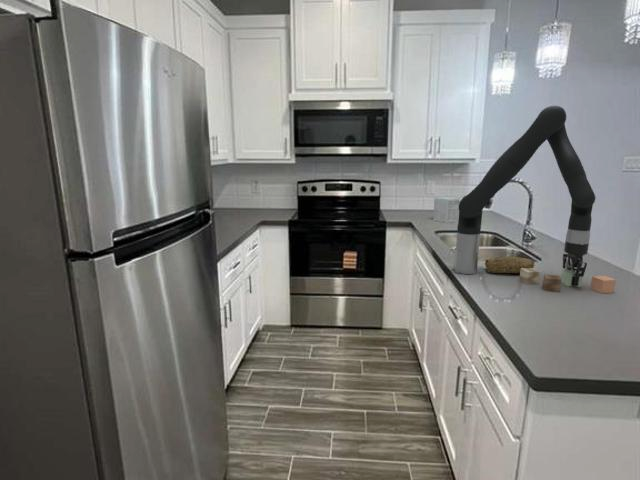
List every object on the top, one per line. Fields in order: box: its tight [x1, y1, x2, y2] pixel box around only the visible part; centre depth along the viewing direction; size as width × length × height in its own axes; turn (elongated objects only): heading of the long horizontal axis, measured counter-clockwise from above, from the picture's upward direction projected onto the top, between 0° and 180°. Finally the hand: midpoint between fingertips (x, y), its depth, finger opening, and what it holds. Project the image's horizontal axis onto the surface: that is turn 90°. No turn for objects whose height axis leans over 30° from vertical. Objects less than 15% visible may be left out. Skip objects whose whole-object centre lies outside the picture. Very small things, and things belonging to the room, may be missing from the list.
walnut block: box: [542, 274, 562, 293], centre depth 144 cm, size 5×5×5 cm
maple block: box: [519, 268, 541, 285], centre depth 153 cm, size 5×5×5 cm
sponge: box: [484, 256, 535, 274], centre depth 166 cm, size 13×8×20 cm
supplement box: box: [432, 196, 461, 224], centre depth 286 cm, size 13×13×18 cm
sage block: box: [560, 269, 583, 288], centre depth 149 cm, size 5×5×5 cm
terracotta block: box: [589, 275, 616, 294], centre depth 143 cm, size 5×5×5 cm
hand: (571, 283), depth 150 cm, fingers closed on sage block, 5 cm apart
